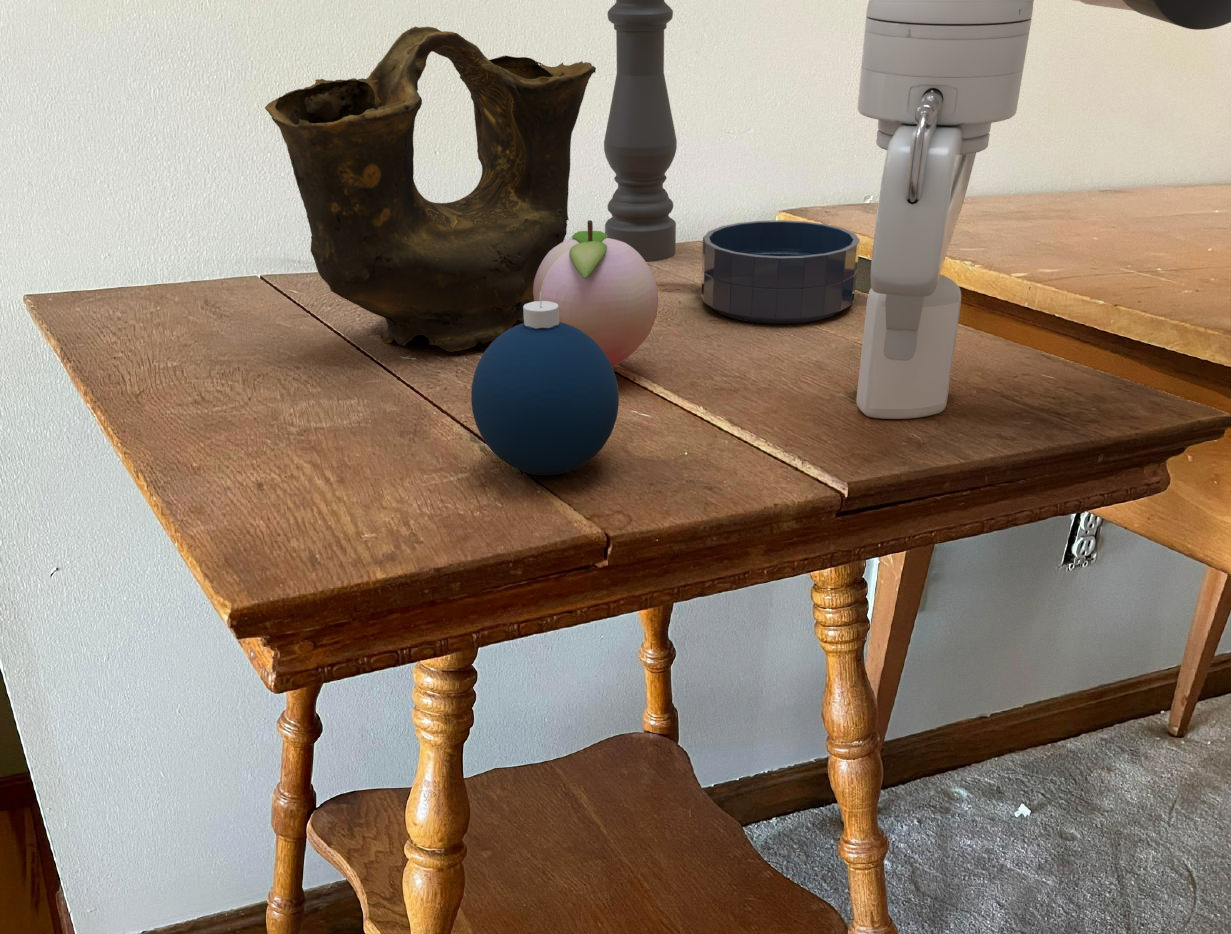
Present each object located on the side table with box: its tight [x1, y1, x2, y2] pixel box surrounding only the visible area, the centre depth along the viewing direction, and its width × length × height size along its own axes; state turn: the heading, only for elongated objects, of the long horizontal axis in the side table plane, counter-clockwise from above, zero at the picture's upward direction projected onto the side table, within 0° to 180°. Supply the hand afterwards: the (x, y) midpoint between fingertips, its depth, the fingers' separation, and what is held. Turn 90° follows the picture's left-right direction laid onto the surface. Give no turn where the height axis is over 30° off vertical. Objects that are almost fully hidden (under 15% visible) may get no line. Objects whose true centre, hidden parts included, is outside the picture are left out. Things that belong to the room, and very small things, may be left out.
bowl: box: [701, 219, 861, 325], centre depth 100 cm, size 12×12×5 cm
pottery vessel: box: [264, 26, 597, 353], centre depth 90 cm, size 25×11×20 cm, turn 131°
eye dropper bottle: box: [855, 273, 962, 420], centre depth 78 cm, size 4×6×12 cm
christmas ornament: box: [470, 293, 620, 476], centre depth 71 cm, size 8×8×10 cm
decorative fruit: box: [533, 219, 659, 368], centre depth 85 cm, size 9×8×10 cm
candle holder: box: [603, 0, 678, 263], centre depth 104 cm, size 6×6×25 cm
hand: (907, 333), depth 79 cm, fingers open, 8 cm apart
